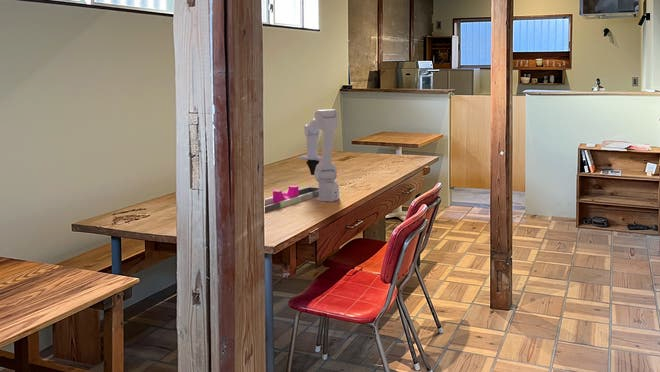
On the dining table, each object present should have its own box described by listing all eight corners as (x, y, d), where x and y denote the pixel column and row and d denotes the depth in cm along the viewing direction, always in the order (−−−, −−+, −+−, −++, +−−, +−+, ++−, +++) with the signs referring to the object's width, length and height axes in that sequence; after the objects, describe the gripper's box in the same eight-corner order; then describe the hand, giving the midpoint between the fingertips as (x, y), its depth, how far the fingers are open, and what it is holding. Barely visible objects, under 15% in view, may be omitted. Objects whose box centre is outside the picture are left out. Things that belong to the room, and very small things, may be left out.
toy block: (288, 200, 341) (288, 185, 340) (298, 201, 338) (298, 186, 336) (269, 206, 329) (268, 190, 328) (279, 207, 326) (279, 191, 324)
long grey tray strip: (328, 193, 355) (327, 188, 355) (264, 212, 314) (264, 207, 314) (308, 191, 362) (308, 186, 362) (244, 209, 321) (244, 204, 321)
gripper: (328, 147, 352) (329, 174, 355) (305, 146, 360) (306, 172, 363) (320, 149, 347) (321, 176, 349) (297, 148, 355) (298, 174, 357)
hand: (313, 174), depth 356 cm, fingers closed
